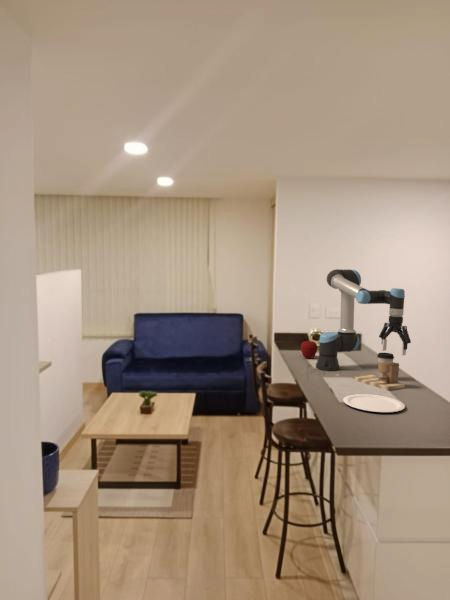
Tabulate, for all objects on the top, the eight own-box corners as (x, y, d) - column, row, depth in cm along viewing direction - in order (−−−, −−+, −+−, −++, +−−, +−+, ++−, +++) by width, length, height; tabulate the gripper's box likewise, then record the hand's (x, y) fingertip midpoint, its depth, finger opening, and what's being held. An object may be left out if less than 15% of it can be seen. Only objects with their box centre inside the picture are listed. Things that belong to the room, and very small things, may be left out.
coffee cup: (394, 381, 284) (395, 356, 282) (376, 379, 285) (378, 355, 284) (391, 377, 293) (393, 352, 292) (375, 375, 295) (376, 351, 294)
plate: (397, 419, 215) (397, 415, 215) (334, 407, 231) (335, 404, 230) (410, 403, 240) (410, 400, 240) (353, 393, 255) (353, 390, 255)
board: (352, 379, 284) (352, 376, 284) (369, 377, 291) (369, 373, 291) (388, 390, 262) (388, 386, 262) (404, 387, 269) (405, 383, 269)
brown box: (375, 382, 271) (376, 363, 270) (389, 380, 277) (390, 361, 276) (383, 385, 266) (384, 365, 265) (398, 382, 272) (399, 363, 271)
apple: (319, 358, 345) (320, 339, 344) (313, 360, 335) (314, 341, 334) (303, 355, 351) (304, 337, 350) (297, 358, 342) (298, 340, 340)
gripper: (374, 313, 279) (372, 349, 281) (410, 319, 258) (407, 357, 260) (383, 312, 283) (380, 348, 285) (419, 318, 262) (416, 356, 264)
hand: (393, 352), depth 272 cm, fingers open, 13 cm apart
